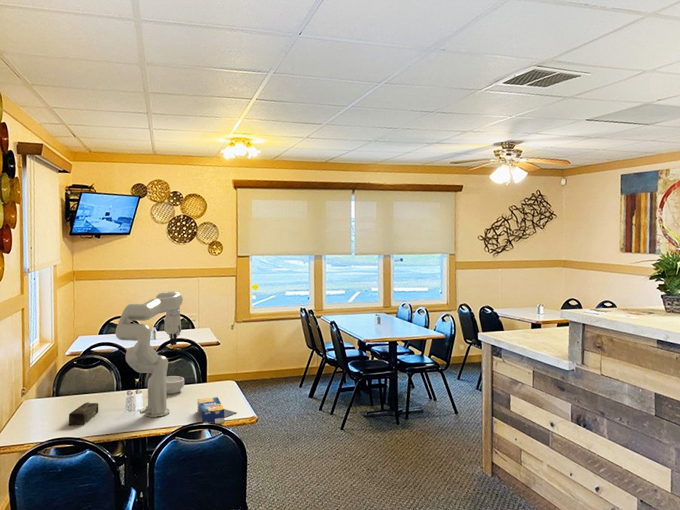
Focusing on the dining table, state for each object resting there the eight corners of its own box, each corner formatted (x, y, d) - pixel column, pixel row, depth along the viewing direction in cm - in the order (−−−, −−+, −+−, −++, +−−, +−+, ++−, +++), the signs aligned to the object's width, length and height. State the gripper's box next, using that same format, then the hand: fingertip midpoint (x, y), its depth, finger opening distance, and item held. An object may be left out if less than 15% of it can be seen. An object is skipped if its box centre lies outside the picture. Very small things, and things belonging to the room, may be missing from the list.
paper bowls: (189, 391, 330) (189, 378, 330) (166, 397, 319) (166, 383, 319) (175, 386, 341) (175, 374, 340) (153, 391, 329) (153, 379, 329)
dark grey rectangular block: (99, 413, 290) (99, 401, 290) (84, 426, 271) (83, 413, 271) (84, 413, 290) (84, 401, 290) (68, 426, 271) (67, 413, 271)
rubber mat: (219, 419, 281) (219, 418, 281) (204, 414, 288) (204, 414, 288) (236, 413, 290) (236, 412, 290) (221, 409, 298) (221, 408, 298)
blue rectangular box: (217, 409, 297) (224, 422, 277) (197, 411, 293) (202, 425, 273) (217, 397, 297) (224, 409, 277) (197, 399, 293) (202, 411, 273)
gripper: (159, 312, 309) (159, 344, 310) (175, 315, 300) (176, 347, 301) (170, 311, 315) (170, 342, 316) (186, 313, 307) (187, 345, 307)
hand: (173, 344), depth 309 cm, fingers closed
